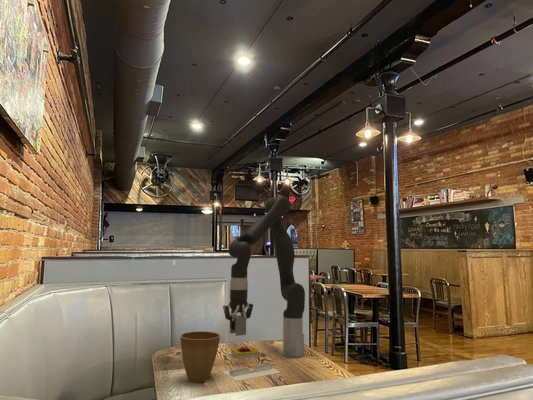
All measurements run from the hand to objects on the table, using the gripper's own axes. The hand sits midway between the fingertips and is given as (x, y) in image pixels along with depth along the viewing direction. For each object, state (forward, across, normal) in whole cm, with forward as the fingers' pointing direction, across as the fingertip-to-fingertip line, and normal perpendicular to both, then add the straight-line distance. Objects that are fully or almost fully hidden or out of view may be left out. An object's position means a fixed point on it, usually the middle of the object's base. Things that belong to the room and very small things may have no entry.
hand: (237, 329), depth 157 cm
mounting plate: (+15, 0, +12) cm, 19 cm away
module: (+2, 0, 0) cm, 2 cm away
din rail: (+15, 0, +12) cm, 19 cm away
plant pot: (+15, +20, +7) cm, 26 cm away
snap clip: (+12, 0, +12) cm, 17 cm away
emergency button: (+16, -11, -11) cm, 22 cm away
